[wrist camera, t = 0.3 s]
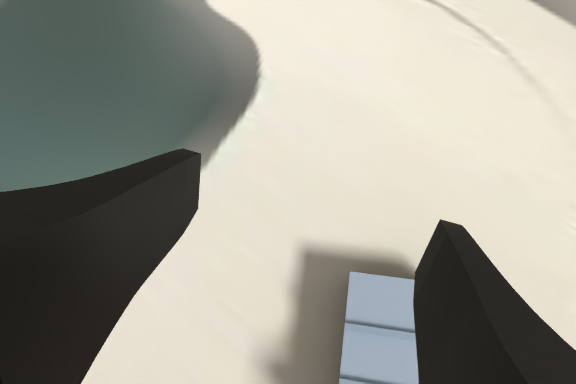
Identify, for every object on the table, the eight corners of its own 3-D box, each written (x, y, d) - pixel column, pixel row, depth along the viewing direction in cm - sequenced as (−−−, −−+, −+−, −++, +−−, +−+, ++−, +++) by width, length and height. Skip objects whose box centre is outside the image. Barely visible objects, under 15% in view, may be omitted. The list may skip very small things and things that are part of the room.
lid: (454, 477, 31) (473, 513, 27) (332, 452, 33) (329, 481, 28) (462, 286, 34) (480, 286, 30) (349, 271, 36) (350, 269, 31)
